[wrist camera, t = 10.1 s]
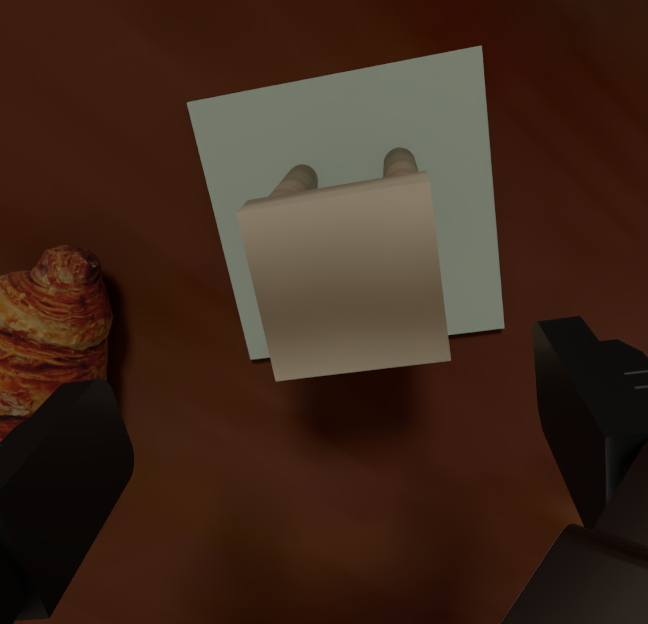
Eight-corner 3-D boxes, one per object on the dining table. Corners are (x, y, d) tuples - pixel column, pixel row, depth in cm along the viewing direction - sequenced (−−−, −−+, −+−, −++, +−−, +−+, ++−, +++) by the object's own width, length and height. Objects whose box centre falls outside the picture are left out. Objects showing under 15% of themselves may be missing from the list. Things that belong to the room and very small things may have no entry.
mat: (189, 101, 24) (186, 102, 23) (480, 45, 22) (481, 45, 22) (252, 355, 28) (250, 359, 27) (502, 324, 26) (504, 328, 26)
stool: (281, 164, 24) (236, 212, 17) (415, 141, 23) (429, 180, 16) (306, 289, 26) (275, 381, 19) (431, 271, 25) (451, 360, 18)
